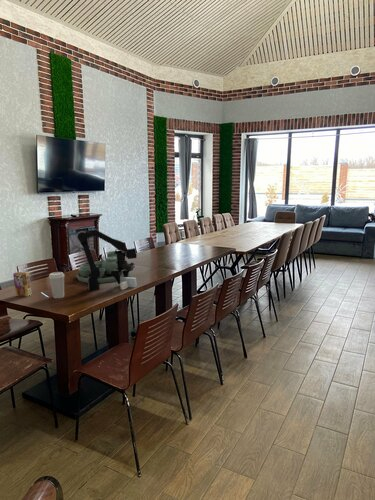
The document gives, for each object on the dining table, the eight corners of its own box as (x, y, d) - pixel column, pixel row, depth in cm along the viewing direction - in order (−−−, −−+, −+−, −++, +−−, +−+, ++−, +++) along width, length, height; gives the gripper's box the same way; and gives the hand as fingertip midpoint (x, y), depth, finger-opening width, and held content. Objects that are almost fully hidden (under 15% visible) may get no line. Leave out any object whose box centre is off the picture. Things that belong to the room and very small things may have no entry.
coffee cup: (68, 294, 235) (66, 271, 233) (64, 298, 226) (61, 275, 223) (53, 294, 235) (51, 272, 232) (48, 299, 226) (45, 275, 223)
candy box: (32, 294, 237) (29, 271, 235) (28, 296, 233) (25, 273, 230) (19, 294, 239) (16, 271, 236) (15, 296, 234) (12, 273, 232)
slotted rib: (123, 289, 241) (123, 283, 240) (120, 289, 241) (120, 283, 241) (135, 283, 255) (134, 277, 255) (132, 283, 256) (132, 277, 255)
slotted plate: (136, 286, 247) (136, 277, 246) (135, 287, 245) (134, 278, 244) (121, 285, 252) (120, 276, 251) (119, 286, 249) (118, 277, 248)
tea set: (82, 272, 296) (80, 252, 293) (132, 269, 300) (130, 249, 297) (71, 285, 257) (69, 262, 254) (129, 281, 261) (127, 259, 258)
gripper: (124, 263, 235) (126, 286, 238) (138, 257, 252) (139, 279, 255) (109, 262, 239) (111, 285, 242) (124, 256, 256) (125, 278, 259)
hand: (122, 282), depth 249 cm, fingers open, 9 cm apart
